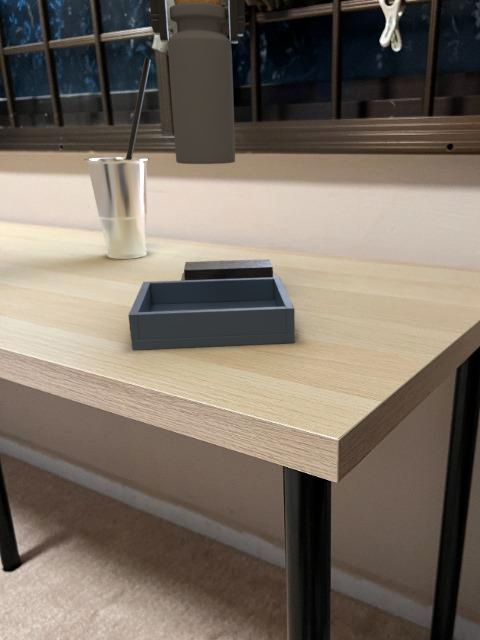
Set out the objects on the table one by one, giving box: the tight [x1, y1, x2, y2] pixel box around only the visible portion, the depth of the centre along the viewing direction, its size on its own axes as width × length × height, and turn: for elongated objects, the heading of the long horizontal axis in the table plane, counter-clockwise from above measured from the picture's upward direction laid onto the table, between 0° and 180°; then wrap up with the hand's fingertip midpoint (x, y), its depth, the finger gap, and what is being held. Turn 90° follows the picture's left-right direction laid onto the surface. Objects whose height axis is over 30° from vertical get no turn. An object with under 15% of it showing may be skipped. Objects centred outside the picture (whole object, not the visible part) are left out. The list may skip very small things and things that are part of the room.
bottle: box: [167, 0, 236, 165], centre depth 57 cm, size 6×6×15 cm
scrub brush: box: [180, 258, 277, 281], centre depth 78 cm, size 12×6×4 cm, turn 97°
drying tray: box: [128, 276, 296, 351], centre depth 64 cm, size 16×14×4 cm
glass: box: [83, 57, 151, 260], centre depth 97 cm, size 11×11×30 cm
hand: (199, 41), depth 56 cm, fingers closed on bottle, 5 cm apart
